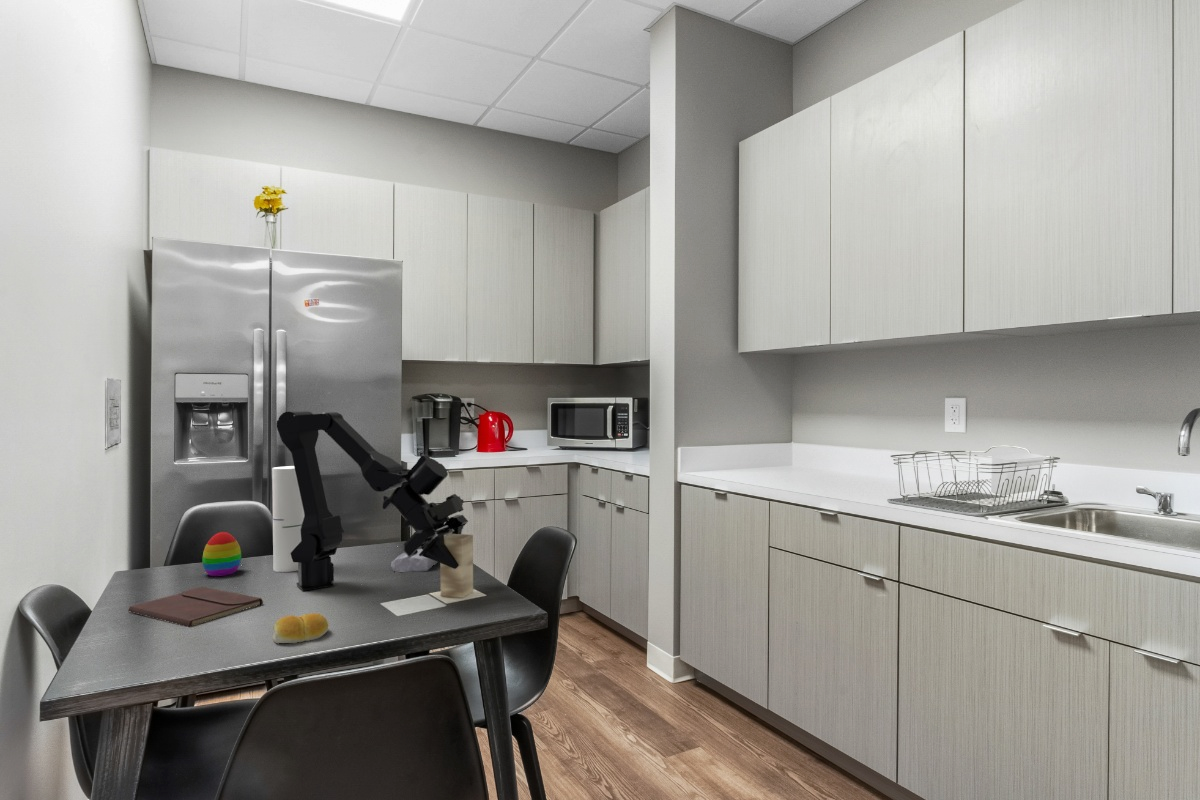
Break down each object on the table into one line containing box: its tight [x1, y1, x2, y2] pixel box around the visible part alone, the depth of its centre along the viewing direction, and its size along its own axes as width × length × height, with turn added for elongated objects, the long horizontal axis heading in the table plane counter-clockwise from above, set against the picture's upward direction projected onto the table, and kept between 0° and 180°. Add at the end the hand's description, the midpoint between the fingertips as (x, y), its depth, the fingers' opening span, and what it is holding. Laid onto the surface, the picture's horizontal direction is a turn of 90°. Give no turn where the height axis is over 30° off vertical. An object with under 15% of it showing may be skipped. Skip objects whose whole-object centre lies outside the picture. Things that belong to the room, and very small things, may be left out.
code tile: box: [428, 588, 487, 605], centre depth 141 cm, size 9×9×1 cm
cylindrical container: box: [271, 465, 304, 573], centre depth 166 cm, size 7×7×25 cm
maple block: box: [439, 533, 474, 598], centre depth 141 cm, size 5×5×12 cm
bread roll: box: [271, 612, 329, 644], centre depth 118 cm, size 8×9×4 cm
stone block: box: [390, 548, 438, 572], centre depth 166 cm, size 12×5×10 cm
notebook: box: [127, 586, 264, 628], centre depth 134 cm, size 15×20×2 cm
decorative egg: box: [202, 531, 242, 577], centre depth 161 cm, size 8×8×10 cm
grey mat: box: [379, 593, 447, 617], centre depth 134 cm, size 10×10×1 cm
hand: (462, 564), depth 140 cm, fingers closed on maple block, 5 cm apart
